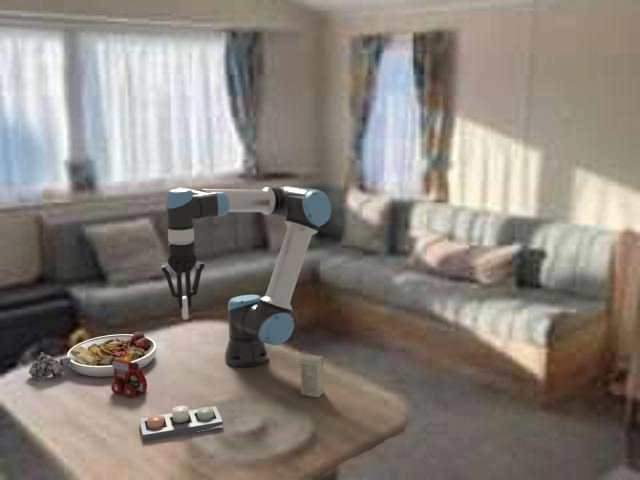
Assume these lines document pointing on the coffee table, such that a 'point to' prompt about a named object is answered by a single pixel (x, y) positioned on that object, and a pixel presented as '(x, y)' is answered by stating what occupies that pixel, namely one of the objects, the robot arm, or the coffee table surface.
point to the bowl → (110, 353)
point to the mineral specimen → (48, 367)
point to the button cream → (180, 414)
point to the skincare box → (311, 375)
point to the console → (179, 426)
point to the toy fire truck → (128, 378)
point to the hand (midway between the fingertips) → (185, 317)
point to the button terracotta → (155, 422)
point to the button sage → (204, 414)
